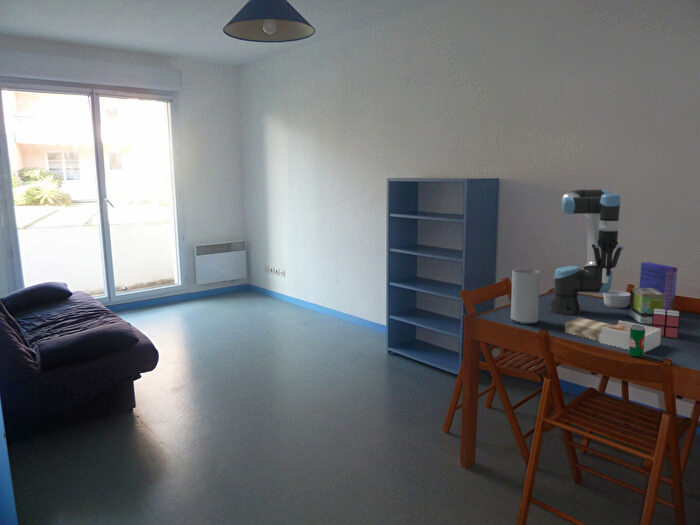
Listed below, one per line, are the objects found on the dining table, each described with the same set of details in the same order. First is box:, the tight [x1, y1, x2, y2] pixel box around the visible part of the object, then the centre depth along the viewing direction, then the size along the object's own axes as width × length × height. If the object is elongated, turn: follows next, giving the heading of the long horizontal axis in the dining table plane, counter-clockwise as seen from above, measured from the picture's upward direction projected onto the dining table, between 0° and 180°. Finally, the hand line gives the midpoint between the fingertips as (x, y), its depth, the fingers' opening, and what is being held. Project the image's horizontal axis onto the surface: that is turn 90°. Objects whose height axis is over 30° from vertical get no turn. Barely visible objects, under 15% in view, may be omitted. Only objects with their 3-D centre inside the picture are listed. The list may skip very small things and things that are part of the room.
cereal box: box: [638, 262, 678, 311], centre depth 258 cm, size 17×5×24 cm, turn 14°
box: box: [598, 320, 662, 353], centre depth 210 cm, size 18×16×7 cm
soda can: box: [628, 324, 645, 358], centre depth 196 cm, size 5×5×12 cm
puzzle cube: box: [651, 309, 681, 339], centre depth 222 cm, size 10×10×10 cm
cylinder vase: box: [510, 268, 541, 323], centre depth 245 cm, size 12×12×25 cm
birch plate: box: [564, 317, 615, 342], centre depth 224 cm, size 16×12×5 cm
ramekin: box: [602, 290, 631, 309], centre depth 271 cm, size 13×13×7 cm
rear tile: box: [611, 323, 625, 332], centre depth 214 cm, size 6×6×3 cm
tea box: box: [629, 287, 665, 325], centre depth 243 cm, size 15×10×15 cm
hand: (604, 282), depth 223 cm, fingers closed
